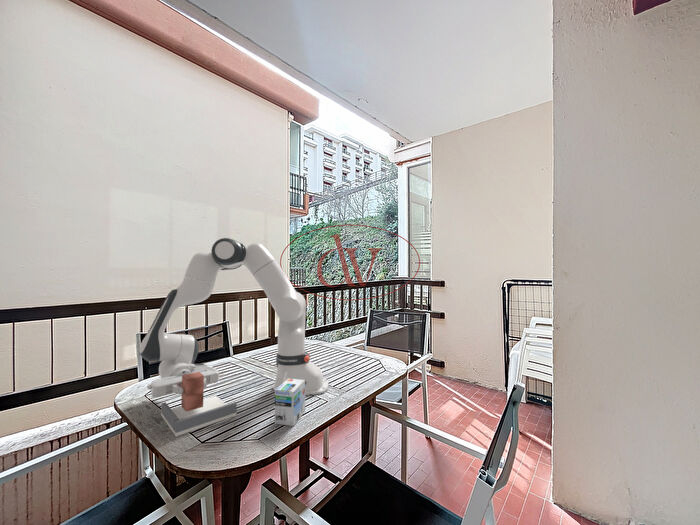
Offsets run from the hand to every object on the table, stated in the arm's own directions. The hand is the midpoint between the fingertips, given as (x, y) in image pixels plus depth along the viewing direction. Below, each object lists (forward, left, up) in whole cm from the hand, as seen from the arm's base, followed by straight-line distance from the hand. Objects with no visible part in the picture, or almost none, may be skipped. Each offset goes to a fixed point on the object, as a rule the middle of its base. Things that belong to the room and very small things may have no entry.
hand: (193, 388), depth 96 cm
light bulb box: (-31, -3, -11) cm, 33 cm away
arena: (0, -4, -10) cm, 11 cm away
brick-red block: (+1, -1, -6) cm, 6 cm away
